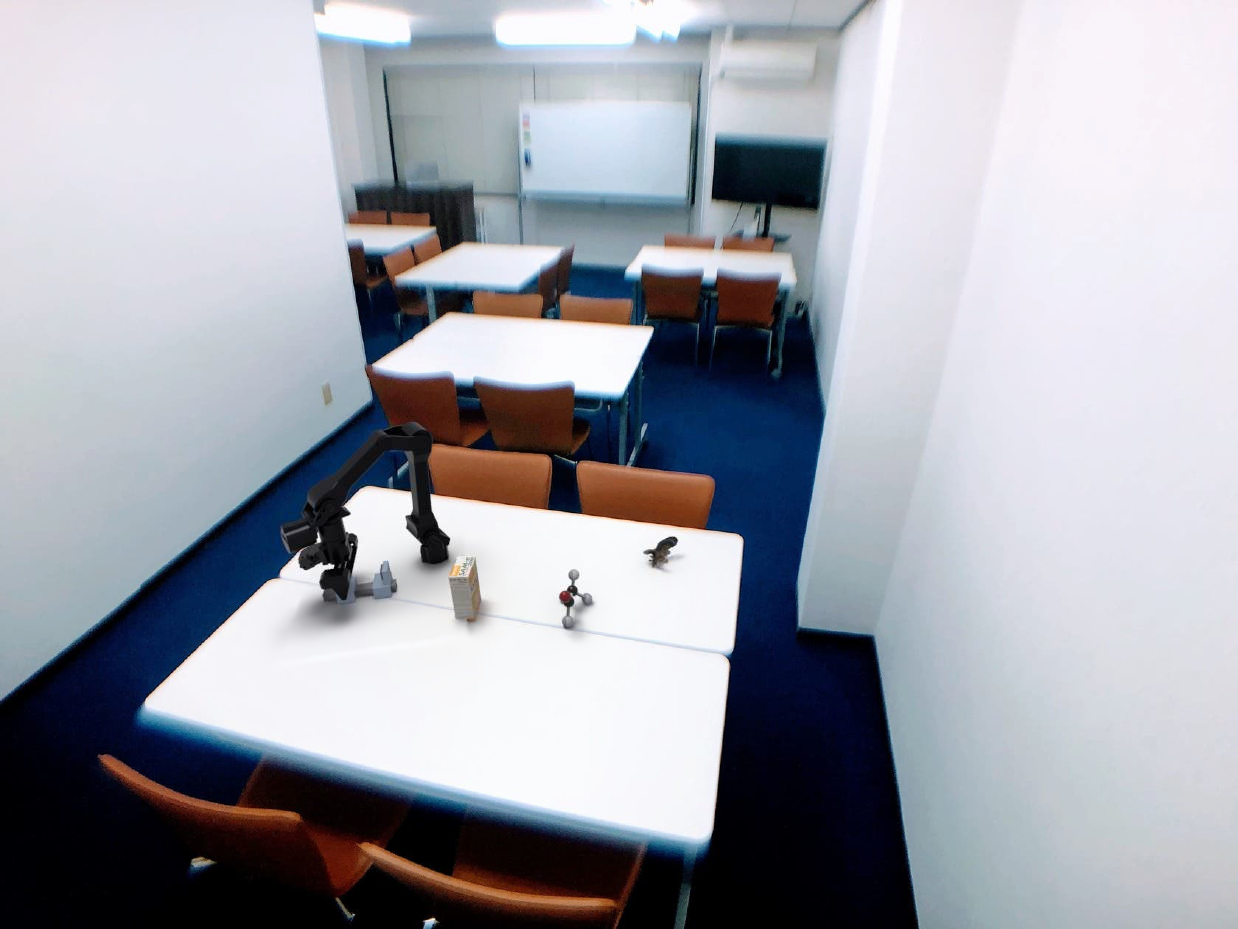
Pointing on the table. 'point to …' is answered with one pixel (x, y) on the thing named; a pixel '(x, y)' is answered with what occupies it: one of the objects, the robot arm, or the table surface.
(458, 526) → the table surface
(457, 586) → the supplement box
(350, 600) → the notched blue block
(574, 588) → the molecular model
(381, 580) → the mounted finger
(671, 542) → the grey brown irregular piece
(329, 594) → the rail board
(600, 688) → the table surface
